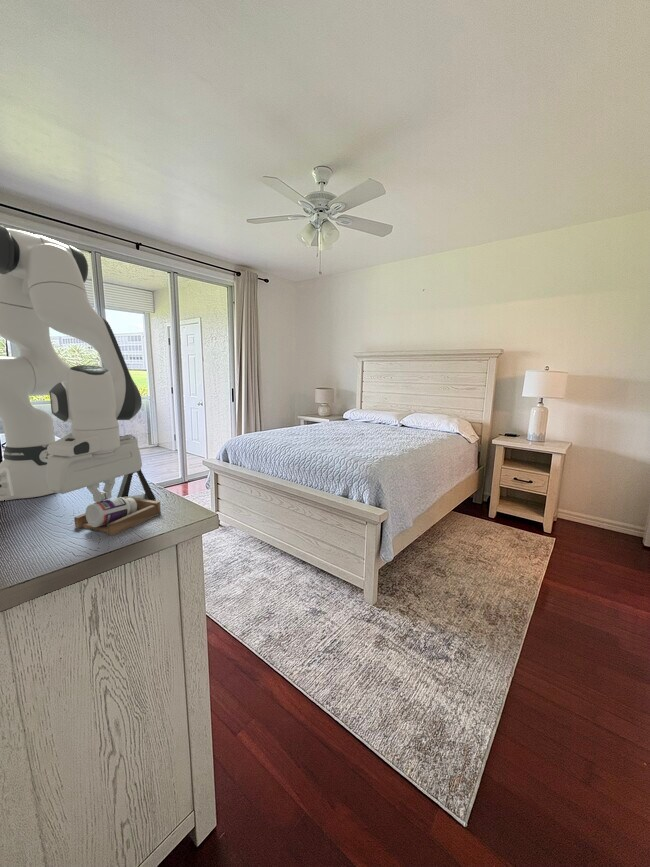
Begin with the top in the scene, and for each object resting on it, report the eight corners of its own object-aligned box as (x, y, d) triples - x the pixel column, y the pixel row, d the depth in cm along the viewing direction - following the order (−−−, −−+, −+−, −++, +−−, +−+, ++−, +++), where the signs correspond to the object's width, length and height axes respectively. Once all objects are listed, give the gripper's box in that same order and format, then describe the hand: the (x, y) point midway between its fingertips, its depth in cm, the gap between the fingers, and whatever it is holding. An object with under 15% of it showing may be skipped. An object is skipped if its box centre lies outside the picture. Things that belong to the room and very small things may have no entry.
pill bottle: (86, 528, 80) (126, 517, 89) (102, 526, 78) (141, 515, 87) (82, 505, 80) (122, 496, 89) (98, 502, 78) (137, 493, 87)
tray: (75, 527, 81) (73, 515, 81) (126, 507, 94) (125, 496, 93) (112, 535, 77) (110, 522, 77) (160, 513, 90) (159, 501, 90)
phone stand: (118, 506, 94) (114, 462, 93) (116, 499, 99) (113, 457, 97) (155, 499, 99) (152, 458, 97) (152, 493, 104) (149, 453, 102)
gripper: (126, 432, 89) (131, 485, 92) (37, 447, 70) (46, 514, 73) (146, 434, 87) (150, 488, 90) (59, 450, 68) (67, 518, 71)
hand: (102, 500), depth 81 cm, fingers closed
